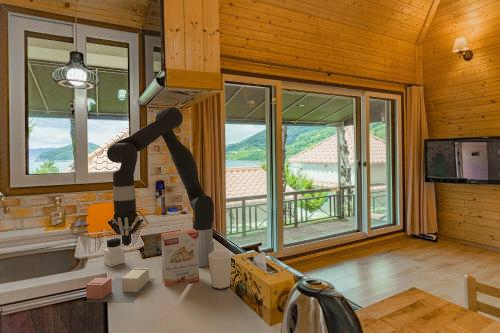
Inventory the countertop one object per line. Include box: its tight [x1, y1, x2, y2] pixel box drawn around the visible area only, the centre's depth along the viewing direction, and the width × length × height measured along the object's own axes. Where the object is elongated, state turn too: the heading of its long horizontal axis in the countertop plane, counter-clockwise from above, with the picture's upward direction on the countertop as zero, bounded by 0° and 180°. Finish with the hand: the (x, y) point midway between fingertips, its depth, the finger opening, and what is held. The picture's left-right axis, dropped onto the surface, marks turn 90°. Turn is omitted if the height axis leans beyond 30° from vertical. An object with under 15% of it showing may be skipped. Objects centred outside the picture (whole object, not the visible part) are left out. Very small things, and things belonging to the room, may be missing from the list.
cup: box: [208, 250, 234, 291], centre depth 115 cm, size 10×10×13 cm
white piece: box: [86, 267, 157, 304], centre depth 112 cm, size 17×20×6 cm
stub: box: [85, 277, 113, 299], centre depth 107 cm, size 6×6×5 cm
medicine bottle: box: [103, 237, 126, 268], centre depth 142 cm, size 7×7×12 cm
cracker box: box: [160, 228, 200, 287], centre depth 118 cm, size 14×6×21 cm, turn 118°
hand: (126, 245), depth 107 cm, fingers closed
